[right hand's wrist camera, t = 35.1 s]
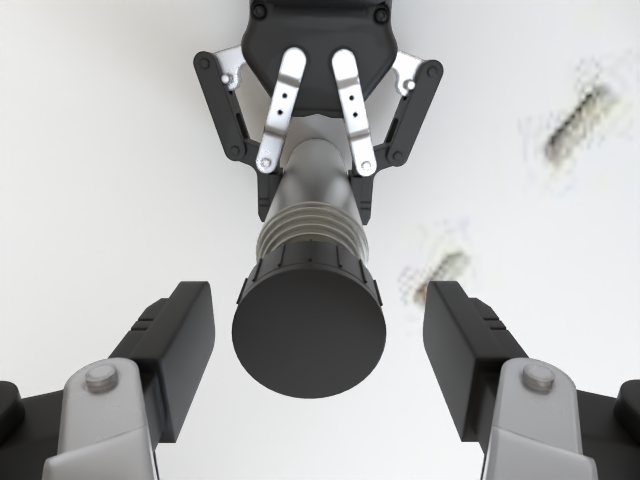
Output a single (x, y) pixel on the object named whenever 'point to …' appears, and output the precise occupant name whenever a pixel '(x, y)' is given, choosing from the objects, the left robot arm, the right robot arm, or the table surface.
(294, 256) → the cap
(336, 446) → the table surface
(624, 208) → the table surface
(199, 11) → the table surface
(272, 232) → the bottle
